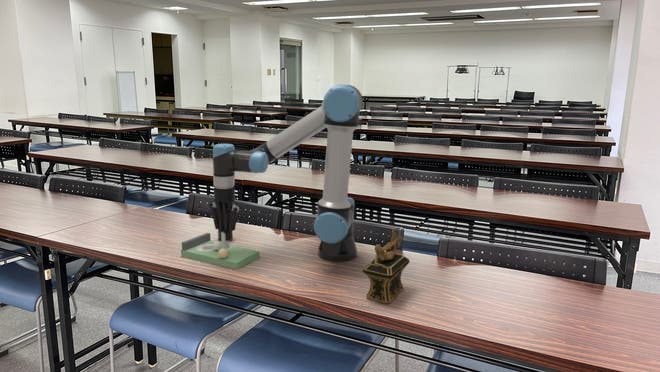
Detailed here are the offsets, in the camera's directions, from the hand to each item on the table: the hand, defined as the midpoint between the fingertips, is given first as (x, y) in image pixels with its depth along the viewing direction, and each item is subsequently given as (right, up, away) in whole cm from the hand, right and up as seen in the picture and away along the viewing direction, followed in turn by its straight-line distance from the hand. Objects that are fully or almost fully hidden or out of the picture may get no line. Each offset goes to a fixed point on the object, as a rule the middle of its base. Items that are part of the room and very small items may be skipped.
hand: (225, 248), depth 174 cm
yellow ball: (+1, -1, -6) cm, 6 cm away
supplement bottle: (-5, 0, +21) cm, 22 cm away
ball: (-3, +1, +1) cm, 4 cm away
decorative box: (+58, -11, -25) cm, 64 cm away
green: (-2, -4, +2) cm, 5 cm away
